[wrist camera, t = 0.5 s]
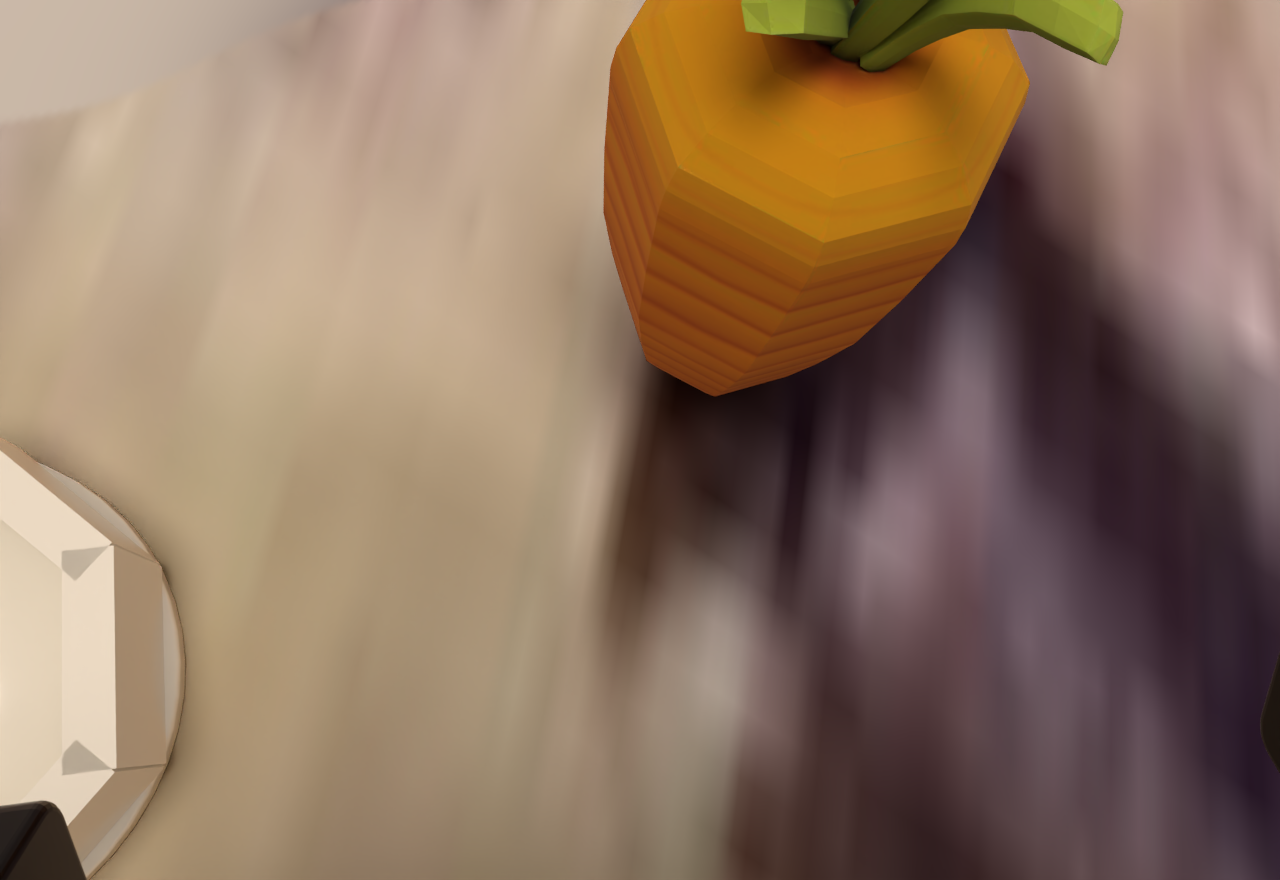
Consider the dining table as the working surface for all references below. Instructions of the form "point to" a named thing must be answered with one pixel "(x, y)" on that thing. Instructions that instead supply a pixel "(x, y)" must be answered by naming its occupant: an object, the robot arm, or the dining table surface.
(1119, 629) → the dining table surface
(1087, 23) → the carrot
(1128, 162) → the dining table surface
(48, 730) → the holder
